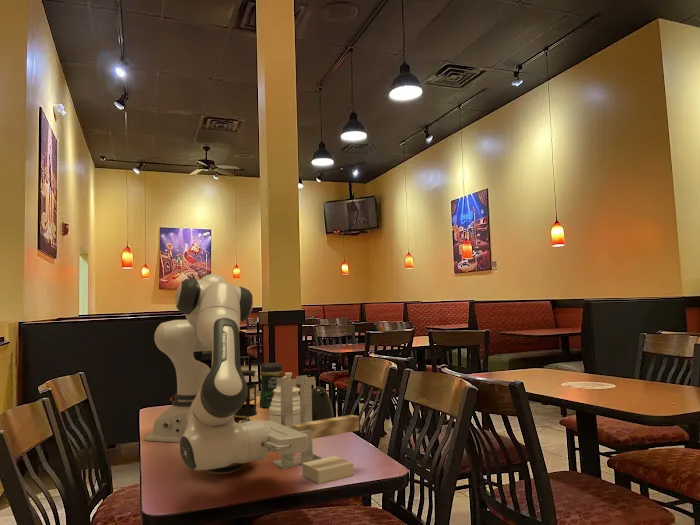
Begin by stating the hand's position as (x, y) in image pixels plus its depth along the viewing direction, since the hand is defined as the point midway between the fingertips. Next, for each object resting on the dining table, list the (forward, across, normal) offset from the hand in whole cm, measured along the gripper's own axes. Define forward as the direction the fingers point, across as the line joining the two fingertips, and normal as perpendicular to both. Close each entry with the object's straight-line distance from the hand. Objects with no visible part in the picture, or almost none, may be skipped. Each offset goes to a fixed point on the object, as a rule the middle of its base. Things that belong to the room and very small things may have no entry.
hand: (305, 431), depth 127 cm
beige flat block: (+6, 0, +12) cm, 13 cm away
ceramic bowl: (-13, +22, +12) cm, 28 cm away
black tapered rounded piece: (+27, +39, +12) cm, 49 cm away
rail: (+6, 0, +2) cm, 6 cm away
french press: (+20, +85, +12) cm, 88 cm away
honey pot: (+27, +62, +12) cm, 68 cm away
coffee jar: (+36, +92, +12) cm, 100 cm away
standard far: (+9, +15, +12) cm, 21 cm away
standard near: (+3, +15, +12) cm, 19 cm away
